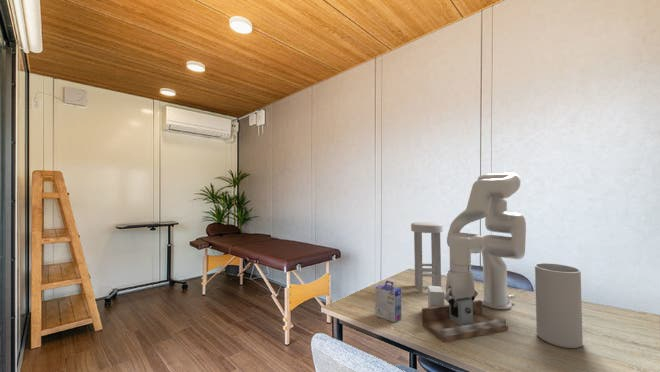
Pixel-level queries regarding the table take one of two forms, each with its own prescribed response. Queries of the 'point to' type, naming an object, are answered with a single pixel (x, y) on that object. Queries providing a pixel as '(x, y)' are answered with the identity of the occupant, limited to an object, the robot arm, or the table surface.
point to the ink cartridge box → (388, 302)
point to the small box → (435, 296)
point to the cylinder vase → (559, 304)
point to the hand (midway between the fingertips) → (461, 314)
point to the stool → (435, 248)
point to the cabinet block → (463, 312)
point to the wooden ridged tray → (449, 330)
